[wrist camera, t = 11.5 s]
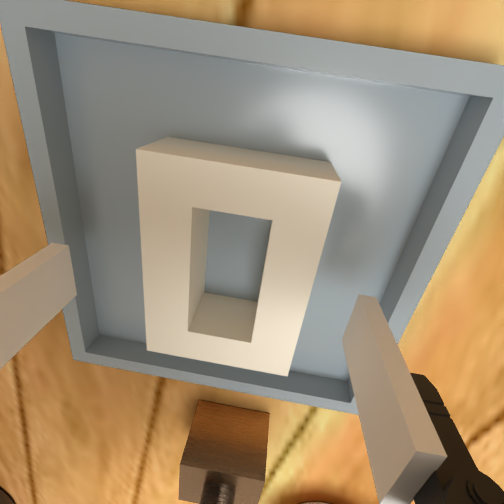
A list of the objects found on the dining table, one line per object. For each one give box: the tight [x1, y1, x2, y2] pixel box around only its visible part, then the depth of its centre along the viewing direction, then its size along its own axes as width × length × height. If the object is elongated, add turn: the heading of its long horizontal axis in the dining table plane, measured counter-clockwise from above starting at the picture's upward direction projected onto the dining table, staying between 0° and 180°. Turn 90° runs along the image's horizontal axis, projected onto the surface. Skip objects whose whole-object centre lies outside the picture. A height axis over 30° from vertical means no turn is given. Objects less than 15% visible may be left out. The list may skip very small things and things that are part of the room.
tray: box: [0, 0, 504, 415], centre depth 17 cm, size 20×20×2 cm
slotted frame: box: [136, 137, 341, 377], centre depth 16 cm, size 11×8×4 cm
